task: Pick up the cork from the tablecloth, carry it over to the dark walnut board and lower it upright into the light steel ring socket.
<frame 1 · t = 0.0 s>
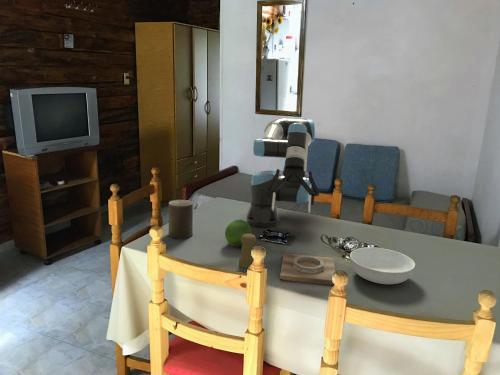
hand: (290, 211, 158), 15 cm above the table, tool tilted 35°, fingers open, 13 cm apart
socket board: (307, 270, 144), on the table
pillar candle: (180, 235, 172), on the table
fruit: (239, 244, 165), on the table
serving bowl: (379, 278, 141), on the table
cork: (247, 264, 147), on the table
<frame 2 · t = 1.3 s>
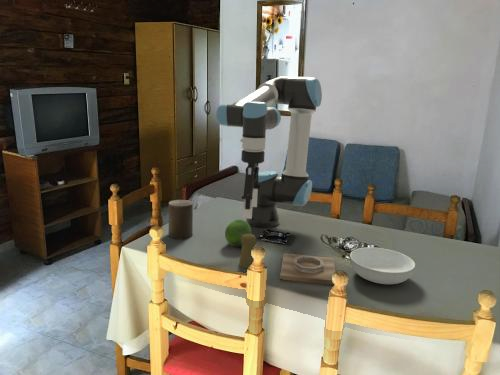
hand: (250, 212, 142), 19 cm above the table, tool pointing down, fingers open, 13 cm apart
nothing on the table moved.
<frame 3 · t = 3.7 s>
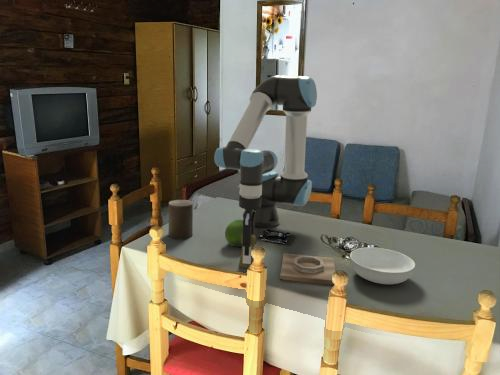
hand: (247, 259, 146), 2 cm above the table, tool pointing down, fingers closed on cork, 5 cm apart
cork: (247, 264, 147), on the table, touching gripper
everything else where it was.
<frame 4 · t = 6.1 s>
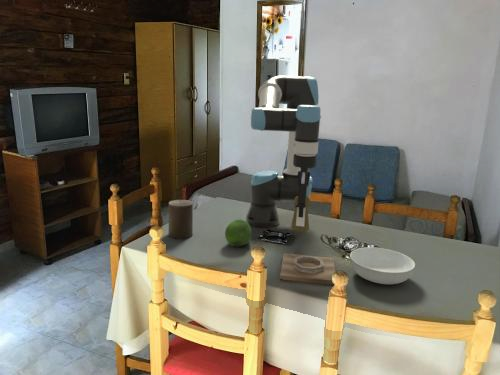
hand: (300, 222, 140), 17 cm above the table, tool pointing down, fingers closed on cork, 5 cm apart
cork: (299, 228, 141), point 15 cm above the table, touching gripper
everything else where it was.
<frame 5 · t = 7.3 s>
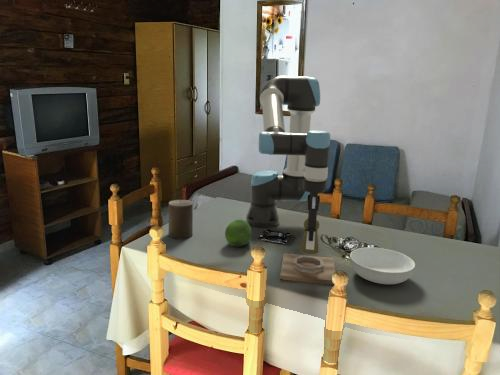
hand: (309, 245, 142), 9 cm above the table, tool pointing down, fingers closed on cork, 5 cm apart
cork: (309, 251, 142), point 7 cm above the table, touching gripper
everything else where it was.
when the fingers open (4 cm above the table, at t = 8.5 s): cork moves 1 cm, resting on socket board.
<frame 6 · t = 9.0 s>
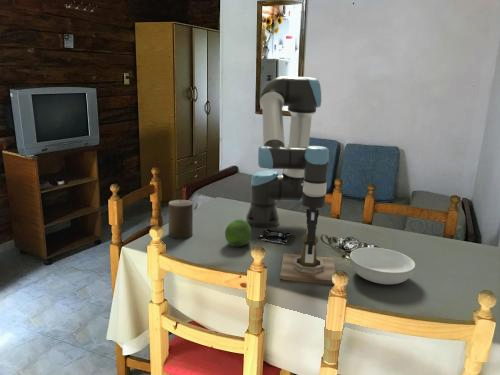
hand: (309, 254, 143), 6 cm above the table, tool pointing down, fingers open, 12 cm apart
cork: (308, 265, 145), point 1 cm above the table, touching socket board
everything else where it was.
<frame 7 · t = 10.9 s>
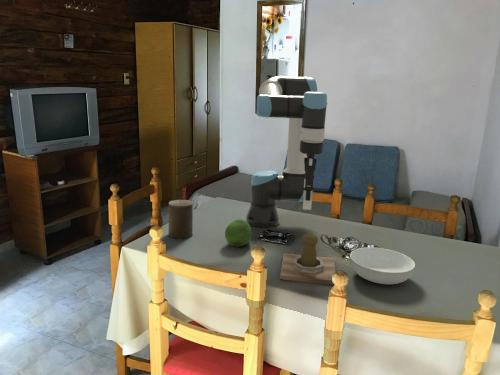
hand: (306, 203, 142), 23 cm above the table, tool pointing down, fingers open, 13 cm apart
nothing on the table moved.
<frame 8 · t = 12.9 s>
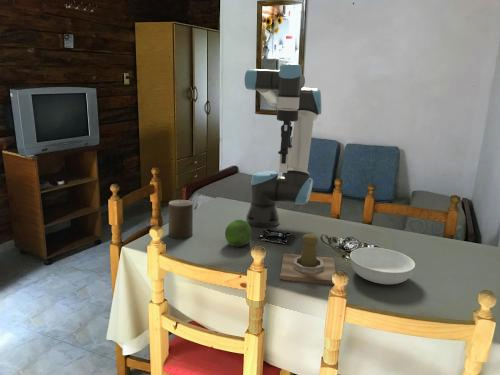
hand: (284, 168, 153), 32 cm above the table, tool pointing down, fingers open, 13 cm apart
nothing on the table moved.
at the end: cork 0.9 cm off-centre on the socket board, point 1.3 cm above the socket board's base; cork tilted 0°; the gripper is holding nothing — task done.
